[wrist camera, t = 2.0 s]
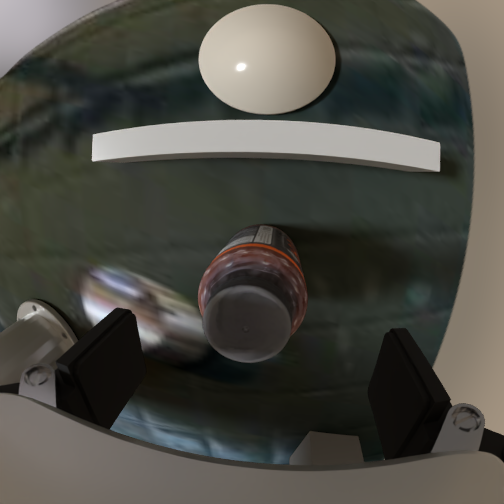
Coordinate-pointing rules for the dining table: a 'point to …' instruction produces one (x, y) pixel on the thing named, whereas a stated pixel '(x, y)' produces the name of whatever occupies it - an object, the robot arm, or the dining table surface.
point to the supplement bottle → (253, 295)
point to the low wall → (268, 144)
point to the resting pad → (267, 59)
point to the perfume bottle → (327, 450)
